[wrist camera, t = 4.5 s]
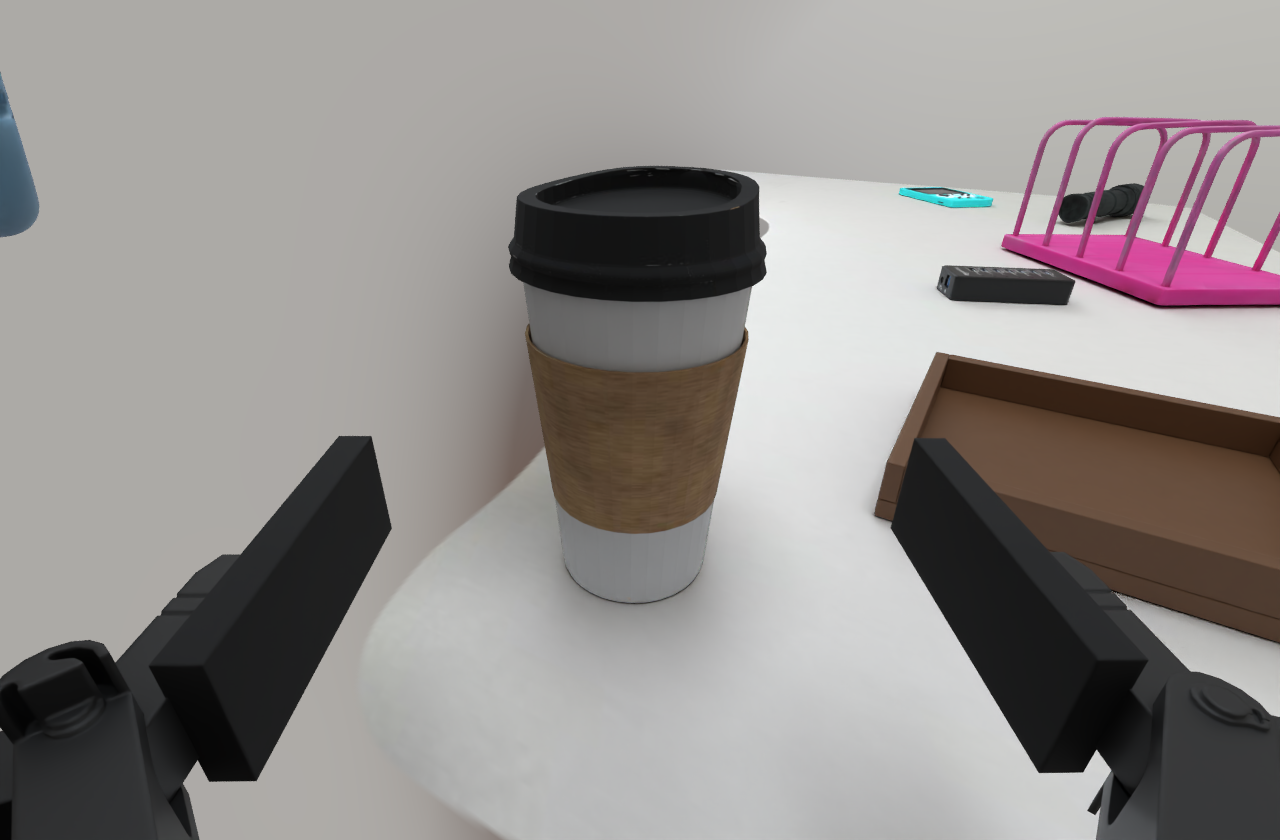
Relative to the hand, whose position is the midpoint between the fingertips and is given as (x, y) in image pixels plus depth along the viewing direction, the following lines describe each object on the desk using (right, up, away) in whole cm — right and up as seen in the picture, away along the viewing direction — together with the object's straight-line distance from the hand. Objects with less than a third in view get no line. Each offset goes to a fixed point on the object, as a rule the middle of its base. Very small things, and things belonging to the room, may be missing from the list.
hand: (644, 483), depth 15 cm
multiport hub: (+36, +14, +46) cm, 60 cm away
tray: (+22, -2, +16) cm, 27 cm away
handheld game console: (+58, +43, +101) cm, 124 cm away
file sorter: (+56, +18, +55) cm, 80 cm away
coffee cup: (0, -4, +11) cm, 12 cm away
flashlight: (+75, +34, +85) cm, 118 cm away
